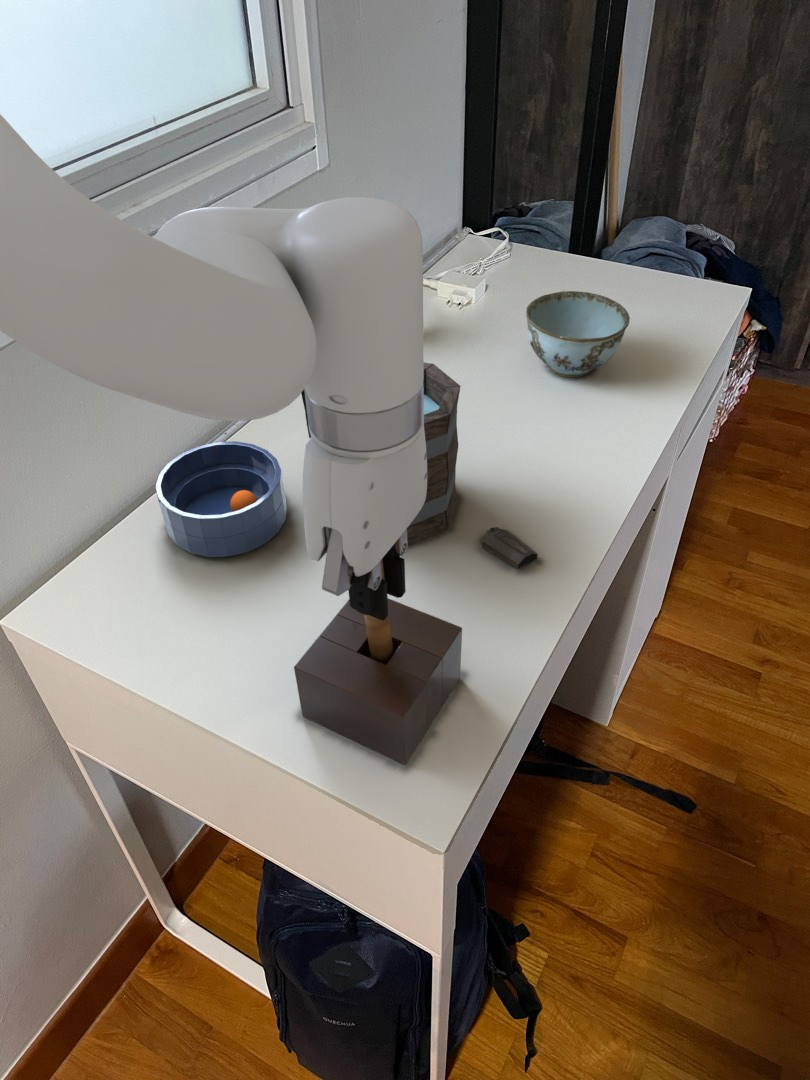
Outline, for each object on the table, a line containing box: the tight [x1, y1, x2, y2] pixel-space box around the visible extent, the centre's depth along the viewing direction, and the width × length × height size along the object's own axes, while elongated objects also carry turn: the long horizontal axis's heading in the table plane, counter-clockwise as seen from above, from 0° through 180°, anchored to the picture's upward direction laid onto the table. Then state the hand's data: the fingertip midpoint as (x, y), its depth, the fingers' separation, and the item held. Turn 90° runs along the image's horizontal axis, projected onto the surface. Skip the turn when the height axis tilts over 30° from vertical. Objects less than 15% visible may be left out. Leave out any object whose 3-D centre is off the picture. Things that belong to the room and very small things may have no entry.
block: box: [481, 526, 539, 570], centre depth 86 cm, size 4×6×2 cm, turn 40°
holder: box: [293, 597, 463, 766], centre depth 71 cm, size 10×10×7 cm
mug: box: [300, 362, 462, 546], centre depth 89 cm, size 20×14×15 cm
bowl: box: [525, 290, 631, 378], centre depth 111 cm, size 14×13×8 cm
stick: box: [364, 559, 394, 665], centre depth 67 cm, size 2×2×16 cm
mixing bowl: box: [155, 440, 288, 558], centre depth 90 cm, size 13×13×6 cm
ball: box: [230, 490, 257, 512], centre depth 90 cm, size 3×3×3 cm
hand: (378, 599), depth 65 cm, fingers closed on stick, 2 cm apart
